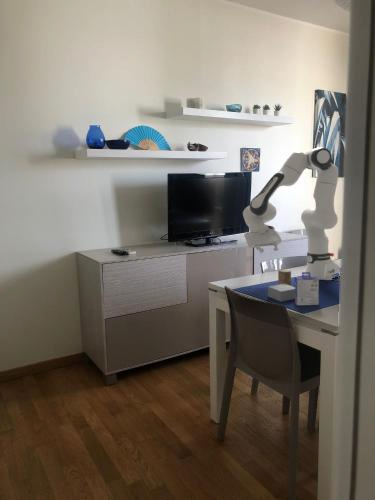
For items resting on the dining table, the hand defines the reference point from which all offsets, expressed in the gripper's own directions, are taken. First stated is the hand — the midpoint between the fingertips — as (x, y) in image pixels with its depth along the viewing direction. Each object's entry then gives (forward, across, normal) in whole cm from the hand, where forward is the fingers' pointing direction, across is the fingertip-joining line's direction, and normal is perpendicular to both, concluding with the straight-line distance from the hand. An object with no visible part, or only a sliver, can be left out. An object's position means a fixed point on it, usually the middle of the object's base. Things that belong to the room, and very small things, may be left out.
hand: (269, 251), depth 220 cm
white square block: (+29, -8, -3) cm, 30 cm away
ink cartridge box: (+38, -5, -12) cm, 41 cm away
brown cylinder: (+22, +1, +4) cm, 22 cm away
